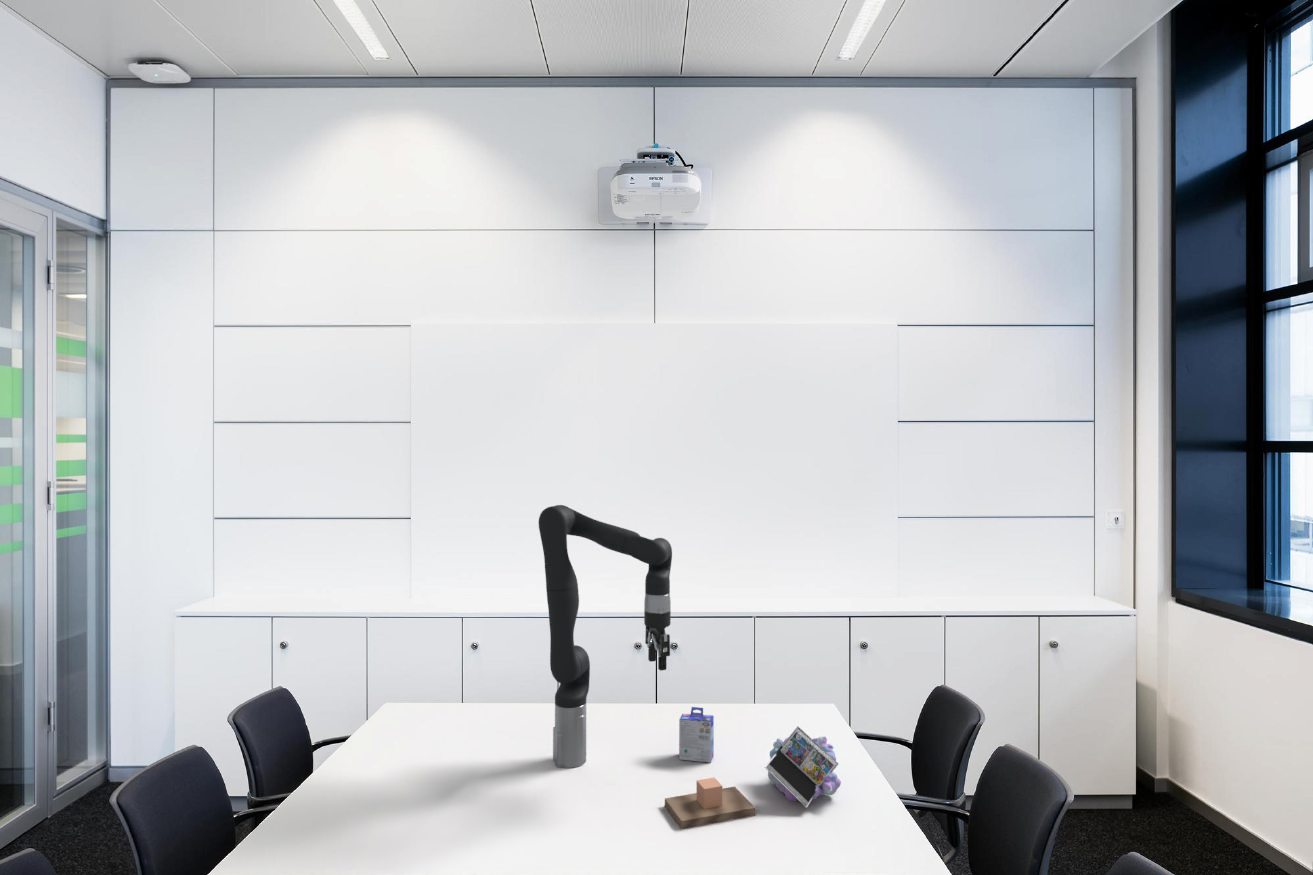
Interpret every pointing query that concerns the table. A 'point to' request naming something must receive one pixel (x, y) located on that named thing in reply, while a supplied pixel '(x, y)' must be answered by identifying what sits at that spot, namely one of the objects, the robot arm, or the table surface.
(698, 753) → the ink cartridge box
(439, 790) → the table surface
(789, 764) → the lumpy iridescent figurine
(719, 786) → the terracotta cube
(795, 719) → the table surface
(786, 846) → the table surface
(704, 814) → the walnut board
